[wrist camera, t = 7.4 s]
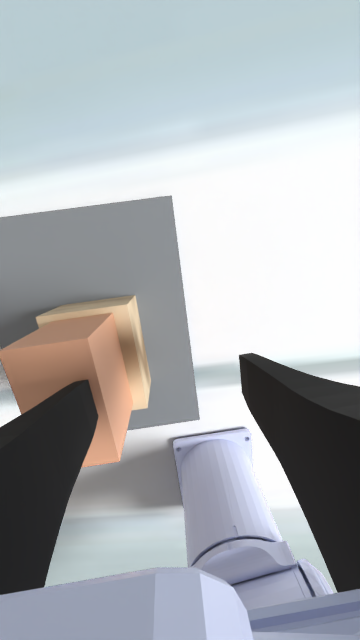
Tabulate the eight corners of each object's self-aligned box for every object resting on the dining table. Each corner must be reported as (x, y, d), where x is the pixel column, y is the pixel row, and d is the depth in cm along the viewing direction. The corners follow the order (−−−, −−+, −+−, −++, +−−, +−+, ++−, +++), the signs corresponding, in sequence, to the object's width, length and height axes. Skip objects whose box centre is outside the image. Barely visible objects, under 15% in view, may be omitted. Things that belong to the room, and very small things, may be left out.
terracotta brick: (133, 403, 17) (119, 461, 12) (79, 411, 17) (44, 473, 12) (112, 312, 15) (87, 338, 10) (52, 321, 15) (-3, 351, 10)
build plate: (199, 416, 23) (199, 419, 22) (38, 440, 22) (36, 444, 22) (171, 196, 17) (171, 195, 17) (-40, 224, 17) (-45, 223, 17)
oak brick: (151, 380, 21) (147, 408, 17) (86, 389, 21) (67, 420, 17) (135, 294, 19) (127, 304, 15) (62, 304, 19) (35, 317, 15)
